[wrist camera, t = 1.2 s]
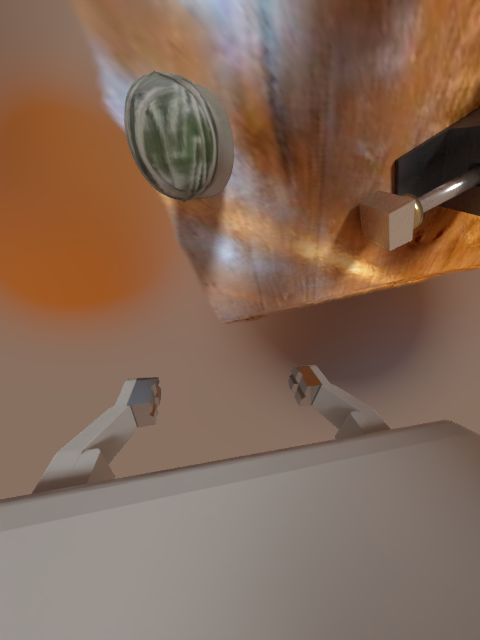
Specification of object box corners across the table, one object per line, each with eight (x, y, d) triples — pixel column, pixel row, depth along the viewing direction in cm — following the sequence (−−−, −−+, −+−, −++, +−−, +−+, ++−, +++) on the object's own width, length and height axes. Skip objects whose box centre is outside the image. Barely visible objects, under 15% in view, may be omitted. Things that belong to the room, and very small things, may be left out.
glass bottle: (235, 177, 36) (249, 212, 16) (186, 188, 36) (139, 235, 16) (224, 101, 29) (222, -13, 9) (164, 116, 30) (35, 44, 9)
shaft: (362, 234, 44) (389, 251, 36) (358, 202, 39) (389, 214, 32) (476, 172, 36) (539, 178, 29) (489, 123, 32) (568, 115, 24)
